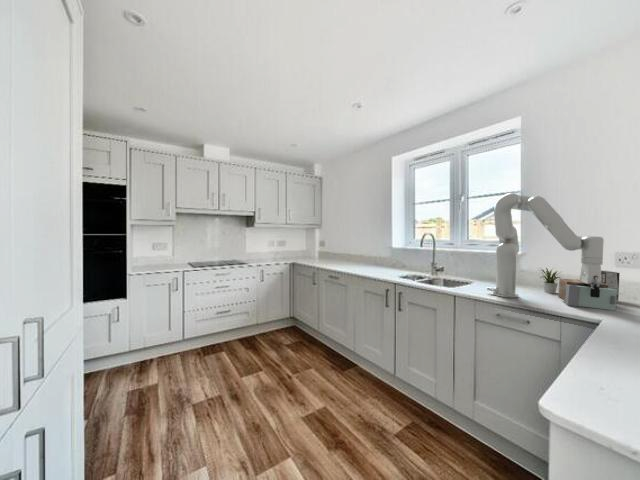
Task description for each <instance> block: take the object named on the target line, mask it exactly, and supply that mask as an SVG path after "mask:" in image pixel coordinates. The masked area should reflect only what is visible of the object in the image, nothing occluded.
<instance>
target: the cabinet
mask: <svg viewBox="0 0 640 480" xmlns="http://www.w3.org/2000/svg"><path fill="white" fill-rule="evenodd" d="M558 279H559V280H558V281H559V282H558V298H559V299H561V300H562V303H564V304H565V305H567V304H566V303H565V298H566V285H567V284H568V285H577V286H582V282H581V281H580V279H575V278H574V279H573V278H562V277H560V278H558ZM600 285H601V286H600V288H607V289H608V285H607V284H604V283H602V282H601V284H600ZM589 286H591V285H589ZM593 286H594V285H593ZM567 306H568V307H572V306H571V305H567ZM574 307H575V308H578V307H579V306H574ZM574 307H573V308H574Z"/></svg>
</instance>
